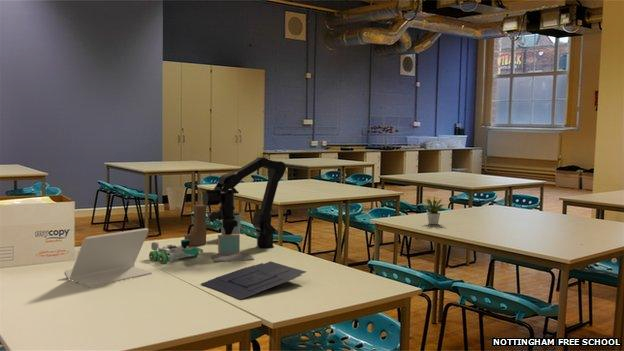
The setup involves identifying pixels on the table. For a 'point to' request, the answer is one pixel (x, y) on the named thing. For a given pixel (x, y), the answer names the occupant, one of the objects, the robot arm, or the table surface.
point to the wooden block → (198, 227)
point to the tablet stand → (108, 258)
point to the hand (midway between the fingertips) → (227, 239)
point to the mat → (232, 257)
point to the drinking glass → (236, 229)
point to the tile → (228, 244)
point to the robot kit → (173, 251)
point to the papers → (253, 279)
